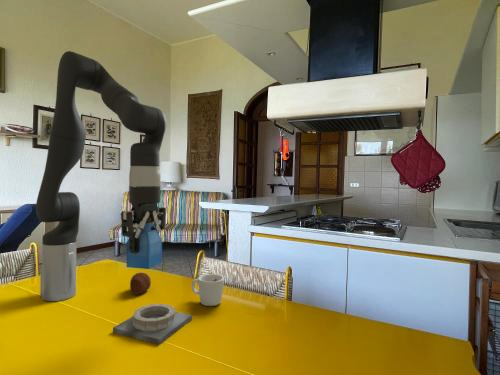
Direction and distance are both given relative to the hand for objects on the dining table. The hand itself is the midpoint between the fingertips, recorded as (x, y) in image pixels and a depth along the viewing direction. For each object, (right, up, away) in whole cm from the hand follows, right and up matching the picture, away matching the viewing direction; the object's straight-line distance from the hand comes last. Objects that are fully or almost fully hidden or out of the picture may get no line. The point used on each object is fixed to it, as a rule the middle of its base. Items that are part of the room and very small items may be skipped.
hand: (144, 249), depth 79 cm
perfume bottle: (0, -4, 0) cm, 4 cm away
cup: (+13, -20, +18) cm, 30 cm away
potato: (-10, -20, +26) cm, 34 cm away
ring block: (+2, -20, +2) cm, 20 cm away
